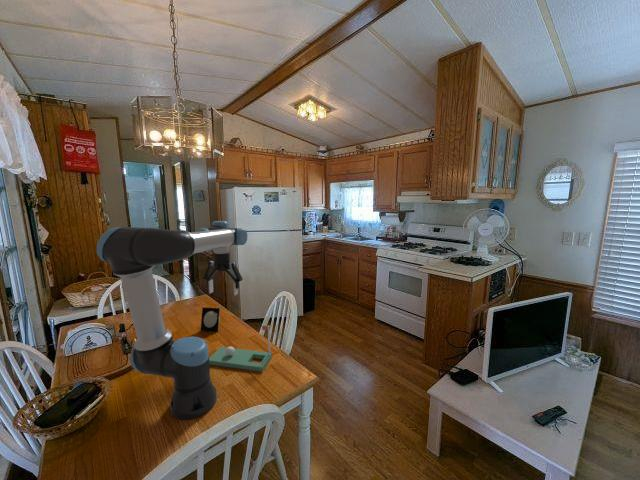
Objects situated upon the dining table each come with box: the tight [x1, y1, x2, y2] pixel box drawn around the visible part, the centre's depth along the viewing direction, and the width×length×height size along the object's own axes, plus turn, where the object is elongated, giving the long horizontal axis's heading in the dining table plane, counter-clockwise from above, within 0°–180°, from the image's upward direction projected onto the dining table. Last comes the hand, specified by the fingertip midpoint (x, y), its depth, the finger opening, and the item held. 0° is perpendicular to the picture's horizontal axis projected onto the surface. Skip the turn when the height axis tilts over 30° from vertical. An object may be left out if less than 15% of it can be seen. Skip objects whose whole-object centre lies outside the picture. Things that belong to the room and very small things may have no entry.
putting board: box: [209, 325, 273, 373], centre depth 122 cm, size 11×26×16 cm, turn 79°
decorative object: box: [200, 307, 221, 333], centre depth 153 cm, size 13×10×10 cm
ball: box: [225, 346, 235, 356], centre depth 124 cm, size 4×4×4 cm
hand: (223, 293), depth 138 cm, fingers open, 13 cm apart
